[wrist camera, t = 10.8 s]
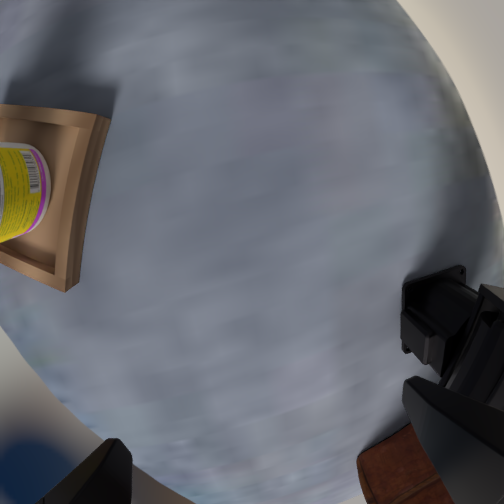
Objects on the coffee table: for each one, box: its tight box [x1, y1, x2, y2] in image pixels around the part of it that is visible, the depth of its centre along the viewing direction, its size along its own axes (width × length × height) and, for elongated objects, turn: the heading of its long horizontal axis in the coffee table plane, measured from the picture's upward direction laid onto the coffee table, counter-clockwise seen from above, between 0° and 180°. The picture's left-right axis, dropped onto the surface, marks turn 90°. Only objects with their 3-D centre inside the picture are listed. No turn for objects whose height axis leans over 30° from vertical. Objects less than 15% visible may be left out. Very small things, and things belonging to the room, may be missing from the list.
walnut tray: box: [0, 104, 111, 293], centre depth 17 cm, size 12×12×2 cm
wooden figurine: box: [356, 423, 455, 504], centre depth 17 cm, size 12×6×18 cm, turn 126°
